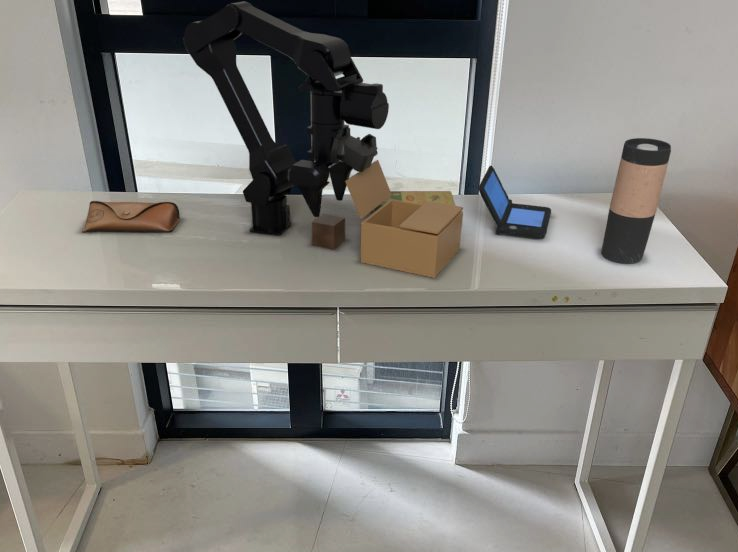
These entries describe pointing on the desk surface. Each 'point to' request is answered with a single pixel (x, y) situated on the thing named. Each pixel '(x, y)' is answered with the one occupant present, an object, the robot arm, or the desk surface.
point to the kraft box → (412, 236)
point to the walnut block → (328, 231)
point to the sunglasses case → (131, 217)
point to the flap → (368, 189)
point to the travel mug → (635, 199)
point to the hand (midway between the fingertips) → (328, 208)
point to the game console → (512, 210)
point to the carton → (420, 197)
